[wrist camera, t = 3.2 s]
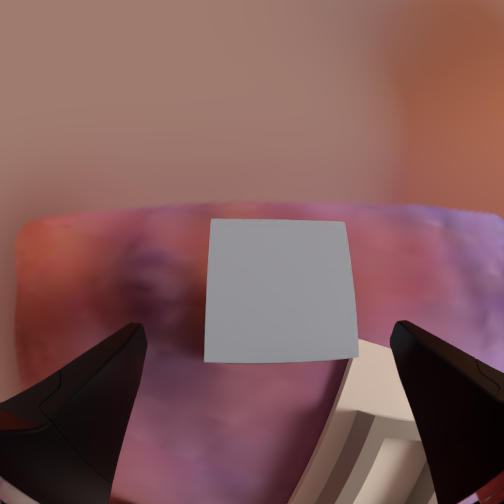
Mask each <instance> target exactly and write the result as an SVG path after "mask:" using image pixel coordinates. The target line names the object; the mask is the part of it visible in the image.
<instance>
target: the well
mask: <svg viewBox="0 0 504 504" xmlns="http://www.w3.org/2000/svg"><path fill="white" fill-rule="evenodd" d="M358 346H359V357H356V358H349V360H348V363H347V366H346V370H345V373H344V376H343V379H342V381H341V384H340V387H339V390H338V393H337V396H336V398H335V401H334V404H333V406H332V409H331V411H330V414H329V416H328V419H327V421H326V424H325V426H324V429H323V431H322V434H321V436H320V438H319V440H318V443H317V445H316V447H315V449H314V452H313V454H312V456H311V458H310V460H309V462H308V464H307V466H306V469H305V471H304V473H303V475H302V477H301V479H300V480H299V482H298V484H297V486H296V488H295V490H294V492H293V494H292V496H291V497H290V499H289V501H288V503H287V504H438V503H437V499H436V494H435V490H434V486H433V482H432V478H431V474H430V470H429V466H428V462H427V459H426V455H425V452H424V448H423V445H422V442H421V438H420V435H419V432H418V429H417V426H416V423H415V420H414V417H413V414H412V411H411V408H410V405H409V403H408V400H407V397H406V394H405V392H404V389H403V386H402V384H401V381H400V378H399V375H398V371H397V368H396V364H395V360H394V357H393V353H392V350H391V349H390V348H386V347H383V346H380V345H377V344H373V343H370V342H367V341H364V340H361V339H358Z"/></svg>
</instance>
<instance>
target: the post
mask: <svg viewBox="0 0 504 504" xmlns="http://www.w3.org/2000/svg"><path fill="white" fill-rule="evenodd" d="M356 357H359V346H358V330H357V316H356V305H355V294H354V285H353V276H352V268H351V260H350V253H349V246H348V239H347V233H346V227H345V222H335V221H307V220H268V219H211V228H210V242H209V257H208V274H207V293H206V317H205V349H204V362H212V363H227V364H278V363H301V362H316V361H328V360H338V359H348V358H356Z"/></svg>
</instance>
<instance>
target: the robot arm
mask: <svg viewBox="0 0 504 504" xmlns="http://www.w3.org/2000/svg"><path fill="white" fill-rule="evenodd" d="M390 346H391V350H392V353H393V357H394V360H395V364H396V368H397V371H398V375H399V378H400V381H401V384H402V386H403V389H404V392H405V394H406V397H407V400H408V403H409V405H410V408H411V411H412V414H413V417H414V420H415V423H416V426H417V429H418V432H419V435H420V438H421V442H422V445H423V448H424V452H425V455H426V459H427V462H428V466H429V470H430V474H431V478H432V482H433V486H434V490H435V494H436V499H437V503H438V504H458V503H460V502H461V501H463V500H465V499H466V498H468V497H470V496H471V495H473V494H474V493H476V495H477V498H478V501H476V502H475V503H473V504H504V373H503V372H500V371H498V370H496V369H494V368H492V367H490V366H489V365H487V364H485V363H483V362H481V361H480V360H478V359H475V358H474V357H472V356H471V355H469V354H467V353H465V352H463V351H462V350H460V349H458V348H456V347H454V346H453V345H451V344H449V343H447V342H445V341H444V340H442V339H440V338H438V337H436V336H435V335H433V334H431V333H429V332H427V331H426V330H424V329H422V328H420V327H418V326H416V325H415V324H413V323H411V322H409V321H407V320H402V321H397V322H396V323H395V326H394V329H393V332H392V334H391V337H390ZM146 350H147V340H146V336H145V332H144V328H143V325H142V324H141V323H134V322H131V323H129V324H127V325H126V326H124V327H123V328H121V329H120V330H118V331H117V332H115V333H114V334H112V335H111V336H109V337H108V338H106V339H105V340H103V341H102V342H100V343H99V344H97V345H96V346H94V347H93V348H91V349H90V350H88V351H87V352H85V353H84V354H82V355H81V356H79V357H78V358H76V359H75V360H73V361H72V362H70V363H69V364H67V365H66V366H64V367H63V368H61V370H58V371H56V372H55V373H53V374H52V375H50V376H49V377H47V378H46V379H44V380H43V381H41V382H39V383H37V384H36V385H34V386H32V387H30V388H29V389H27V390H25V391H23V392H21V393H19V394H17V395H16V396H14V397H12V398H10V399H8V400H6V401H4V402H1V403H0V504H108V503H109V498H110V493H111V489H112V485H111V484H112V483H113V479H114V475H115V471H116V467H117V462H118V458H119V455H120V451H121V447H122V443H123V439H124V436H125V432H126V429H127V425H128V421H129V418H130V415H131V411H132V408H133V404H134V401H135V398H136V395H137V391H138V388H139V385H140V380H141V375H142V370H143V365H144V360H145V355H146Z"/></svg>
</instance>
